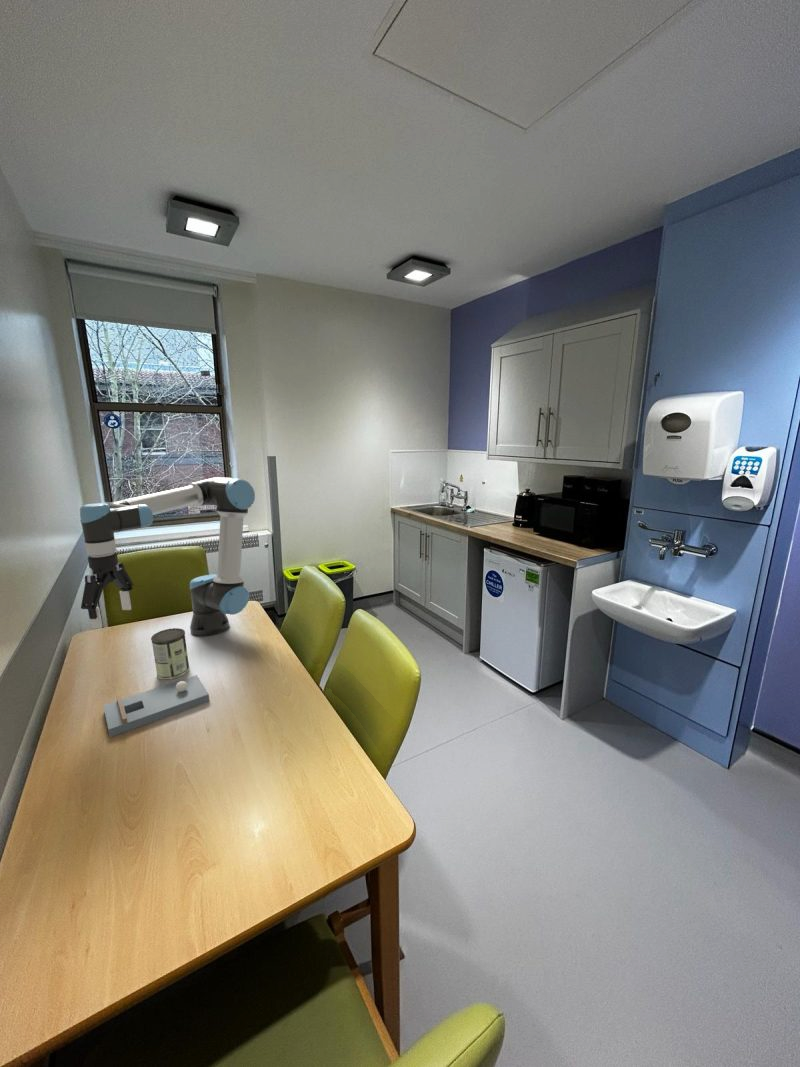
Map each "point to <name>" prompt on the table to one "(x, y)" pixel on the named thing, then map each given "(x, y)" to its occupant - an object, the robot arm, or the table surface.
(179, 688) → the ball
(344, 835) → the table surface
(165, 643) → the coffee can
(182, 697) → the deck
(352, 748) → the table surface
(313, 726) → the table surface
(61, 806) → the table surface
